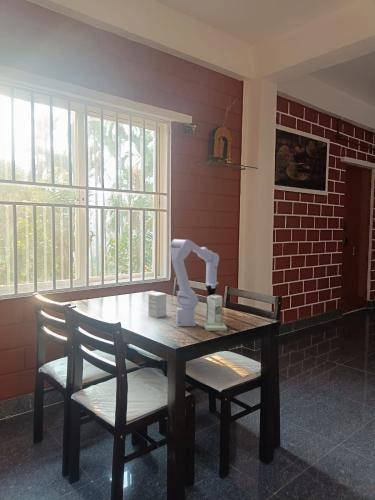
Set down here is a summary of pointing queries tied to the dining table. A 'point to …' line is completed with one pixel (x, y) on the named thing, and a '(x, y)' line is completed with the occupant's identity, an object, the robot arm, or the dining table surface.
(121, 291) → the dining table surface
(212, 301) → the syrup box
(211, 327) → the tray
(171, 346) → the dining table surface
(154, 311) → the supplement box
